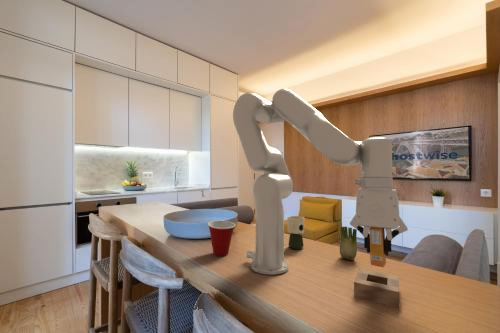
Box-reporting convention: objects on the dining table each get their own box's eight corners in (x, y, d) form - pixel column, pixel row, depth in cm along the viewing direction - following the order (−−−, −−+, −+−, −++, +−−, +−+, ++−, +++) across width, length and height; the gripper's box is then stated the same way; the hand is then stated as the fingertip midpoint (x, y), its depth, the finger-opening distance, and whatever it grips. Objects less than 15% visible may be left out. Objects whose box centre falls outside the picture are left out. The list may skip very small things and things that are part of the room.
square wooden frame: (354, 297, 62) (354, 281, 62) (359, 282, 70) (359, 268, 70) (399, 309, 57) (399, 292, 57) (399, 291, 65) (399, 276, 65)
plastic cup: (221, 261, 86) (222, 227, 86) (201, 254, 92) (201, 223, 93) (240, 253, 94) (241, 222, 95) (221, 247, 101) (221, 219, 101)
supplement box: (371, 261, 66) (371, 224, 66) (386, 264, 64) (385, 226, 64) (369, 264, 63) (369, 226, 64) (383, 268, 61) (383, 228, 62)
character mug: (299, 253, 95) (300, 220, 95) (283, 250, 99) (283, 218, 99) (307, 246, 104) (307, 216, 105) (292, 243, 108) (292, 214, 108)
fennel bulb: (358, 261, 87) (358, 228, 87) (347, 262, 85) (347, 228, 86) (347, 255, 92) (347, 224, 93) (337, 257, 91) (337, 225, 91)
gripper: (341, 183, 65) (342, 251, 65) (414, 185, 57) (416, 263, 56) (346, 183, 72) (347, 244, 71) (412, 184, 63) (414, 254, 63)
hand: (377, 252), depth 64 cm, fingers closed on supplement box, 3 cm apart
